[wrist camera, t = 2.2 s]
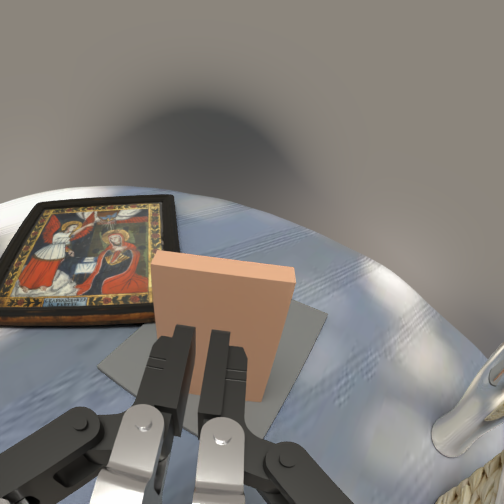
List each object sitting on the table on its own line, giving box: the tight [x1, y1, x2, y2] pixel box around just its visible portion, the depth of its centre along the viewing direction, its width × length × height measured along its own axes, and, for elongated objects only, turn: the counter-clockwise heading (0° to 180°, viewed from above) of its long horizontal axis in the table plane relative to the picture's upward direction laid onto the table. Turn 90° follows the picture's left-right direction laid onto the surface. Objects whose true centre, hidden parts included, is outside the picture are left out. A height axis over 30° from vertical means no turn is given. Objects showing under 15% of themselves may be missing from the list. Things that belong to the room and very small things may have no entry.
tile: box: [150, 250, 296, 402], centre depth 26 cm, size 2×10×16 cm, turn 88°
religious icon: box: [0, 194, 180, 326], centre depth 47 cm, size 38×35×3 cm
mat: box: [97, 299, 328, 439], centre depth 37 cm, size 19×24×1 cm
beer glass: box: [431, 342, 504, 457], centre depth 23 cm, size 7×7×15 cm
